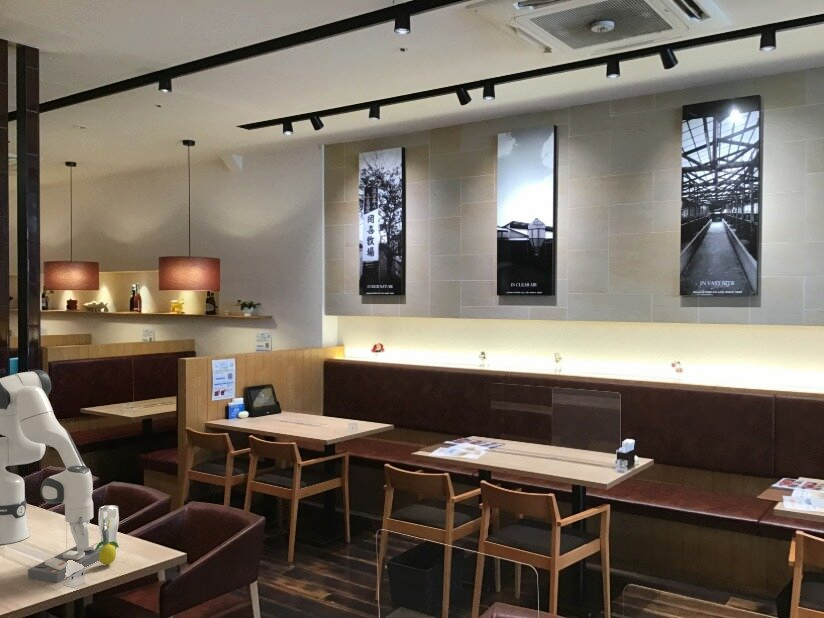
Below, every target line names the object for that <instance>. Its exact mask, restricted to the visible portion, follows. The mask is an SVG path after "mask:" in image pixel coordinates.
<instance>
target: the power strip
mask: <svg viewBox="0 0 824 618" xmlns="http://www.w3.org/2000/svg"><path fill="white" fill-rule="evenodd" d="M101 548H102V547H99V548H98V549H97V550H95V549H93V550H86V551H84V552H85V556H84V557H82V558H80V559H78V560H76V559H69V558H63V554H64V553H66V552H68V551H70V550H71V551H77V546H76V545H75V546H73V547H72V548H69V549H67V550H65V551H63V552H61V553H59V554H57V555H55V556H54V557H55V558H57V559H60V560H62V561H64V562H67V561H68V560H73V561H75V562H77V563H79V564H82V565H83V566H84V567H87V566H88V567H90V566H92V565H94V564H96V563H97V561H98V562H100V561H99V552H100V549H101ZM51 558H52V557H50V558H49V559H51ZM49 559H47V560H49ZM47 560H45V561H43V562H40V563H37V564H36V565H34V566H32V567H30V568H28V569H27V578H28V579H29V580H37V581H44V582H49V583H57V584H58V583H60V582H62V581H64V580H65V579H64V578H65V573H66V567H65V568H63V569H61V570H57V569H55V568H53V567H50V566H48V565H45V562H46V561H47ZM95 562H96V563H95ZM93 563H94V564H93ZM91 564H92V565H91ZM89 565H90V566H89ZM88 567H87V568H88Z"/></svg>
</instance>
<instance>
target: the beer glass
mask: <svg viewBox="0 0 824 618" xmlns="http://www.w3.org/2000/svg"><path fill="white" fill-rule="evenodd" d="M119 515H120V514H119V506H118V505H113V504H111V505H104V506H100V507H99V509H98V528H99V529H98V530H99V533H100V542H101V541H105V542H104V543H103V544H102V545H101V546H100V547H103V546H104V545H106V544H107V537H108V544H110V543H109V542H112V541H114V542H116V543H117V544H118V540H117V538H118V537H117V536H118V529H119V522H120V516H119ZM112 546H113V545H112ZM114 548H115V550H116V549H118V548H117V547H114Z"/></svg>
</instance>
